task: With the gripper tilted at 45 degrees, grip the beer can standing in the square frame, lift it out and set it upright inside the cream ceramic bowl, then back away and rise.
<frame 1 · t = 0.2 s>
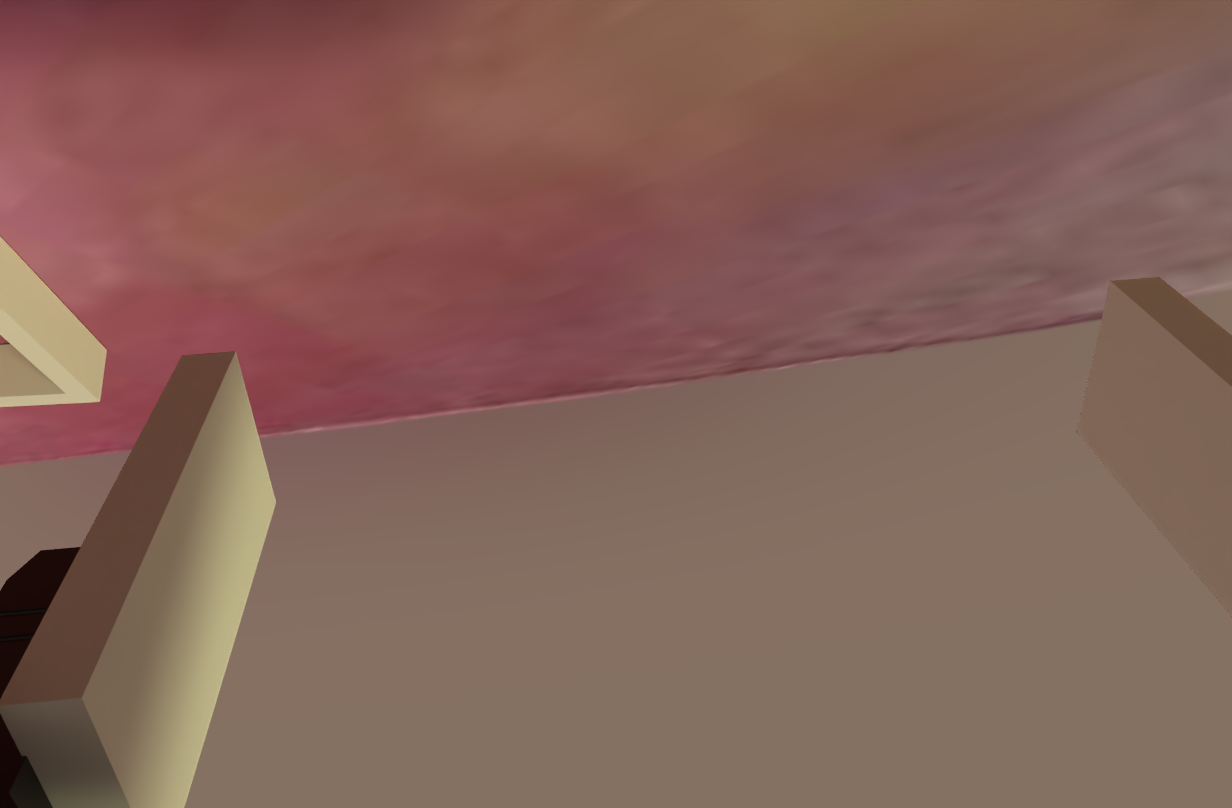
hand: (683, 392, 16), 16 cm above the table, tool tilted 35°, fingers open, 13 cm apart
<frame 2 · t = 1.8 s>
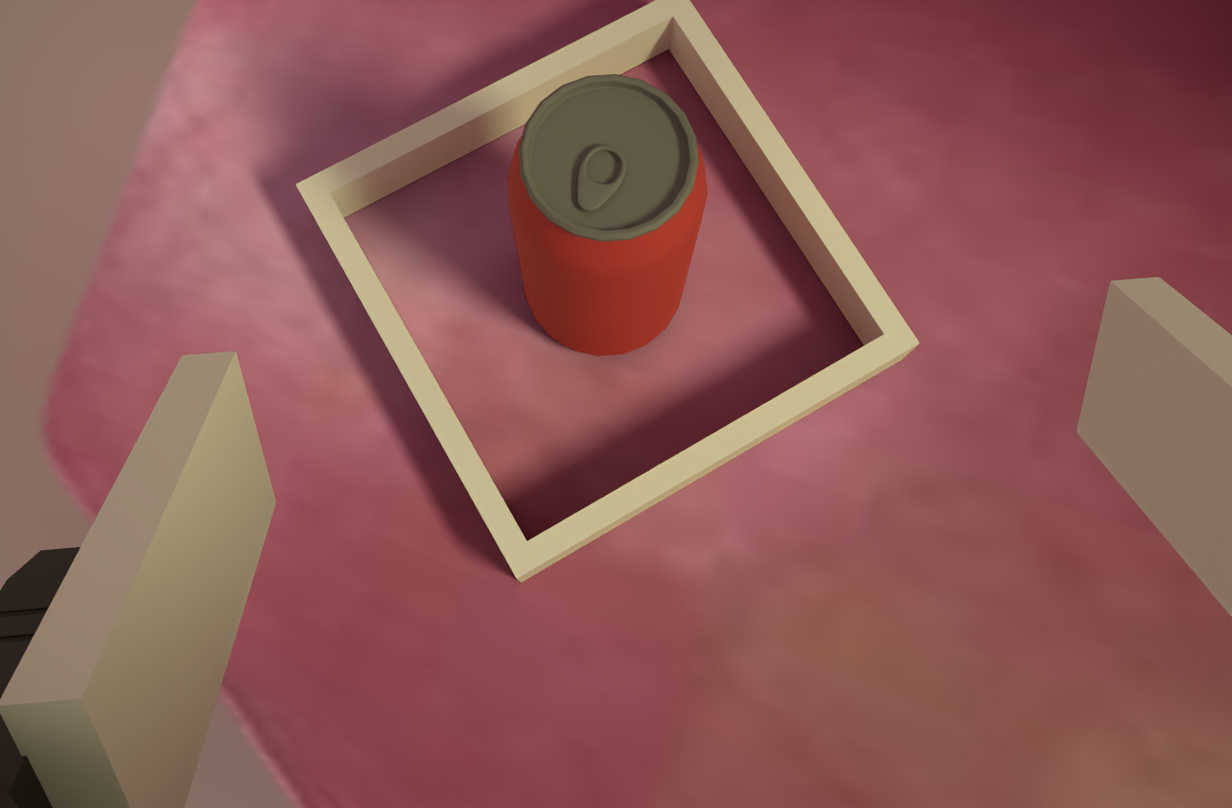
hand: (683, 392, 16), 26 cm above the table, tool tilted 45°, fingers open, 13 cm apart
beer can: (603, 285, 44), resting in square frame
square frame: (603, 284, 44), on the table
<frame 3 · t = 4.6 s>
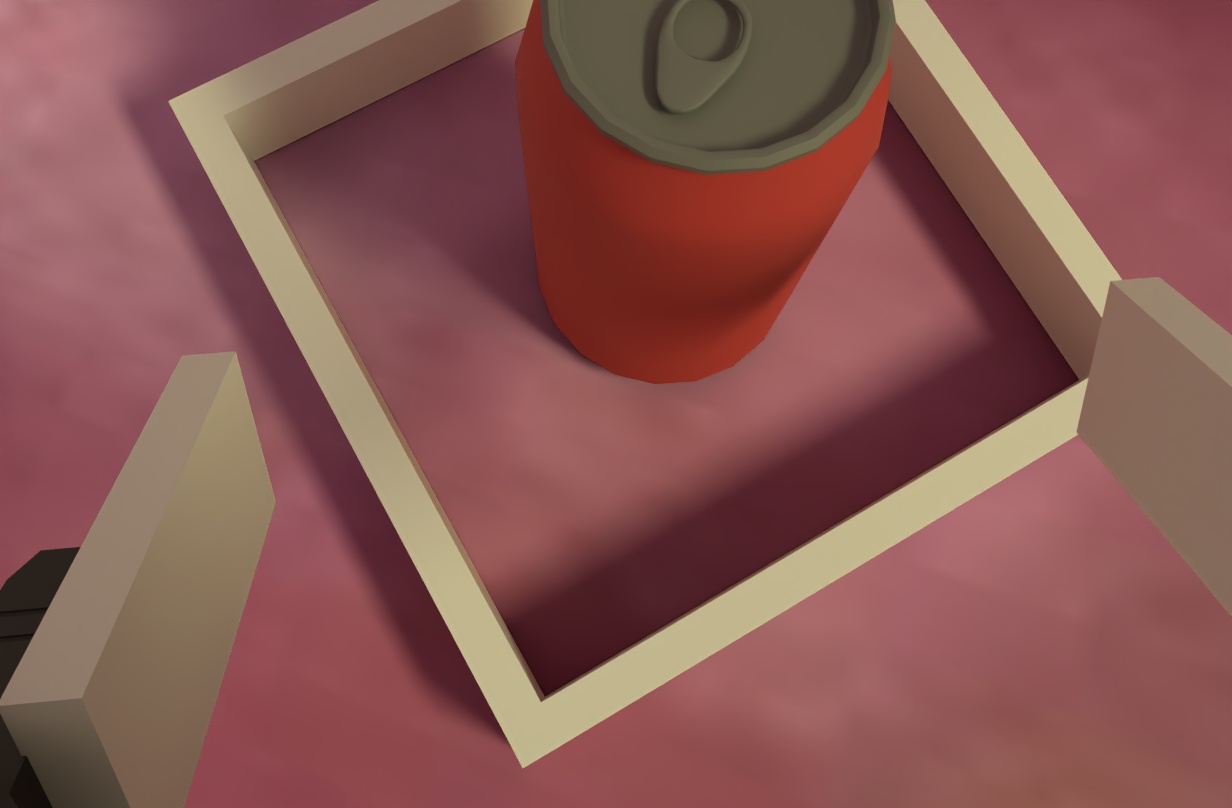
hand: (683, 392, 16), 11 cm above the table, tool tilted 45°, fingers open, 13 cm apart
beer can: (661, 272, 28), resting in square frame
square frame: (662, 269, 28), on the table
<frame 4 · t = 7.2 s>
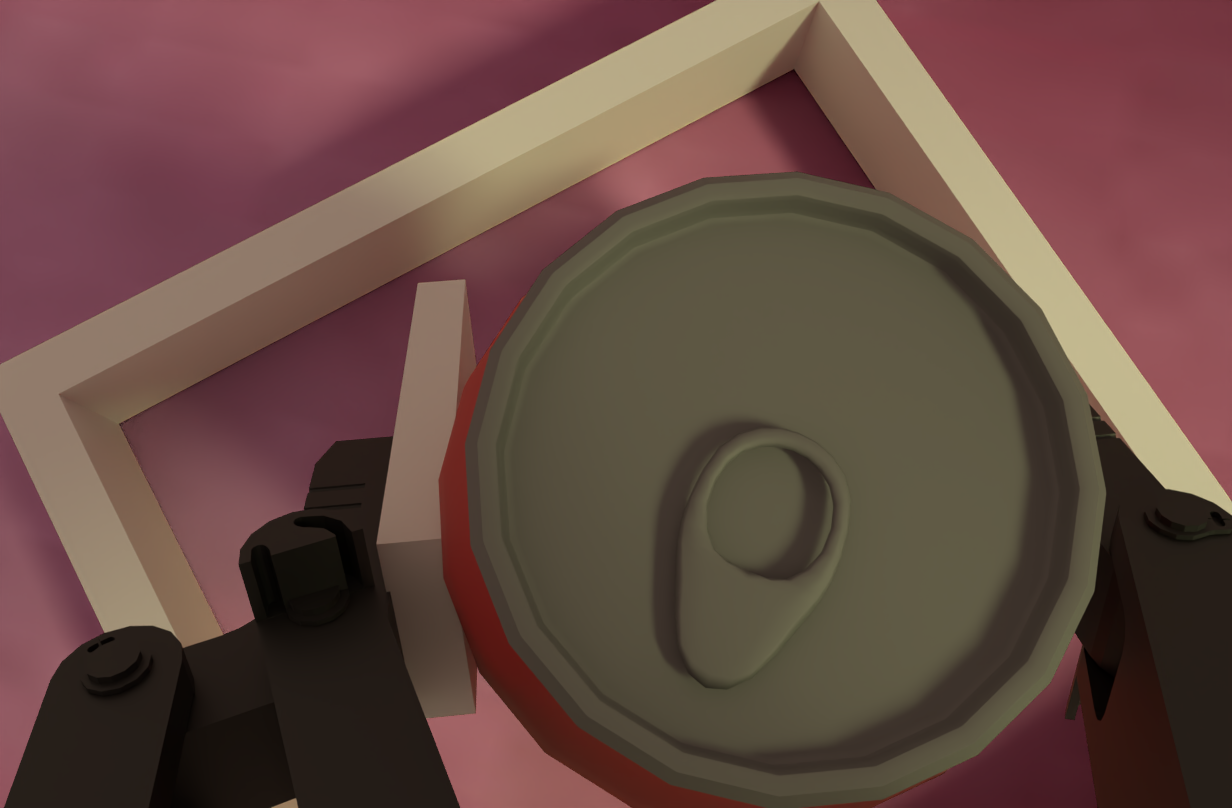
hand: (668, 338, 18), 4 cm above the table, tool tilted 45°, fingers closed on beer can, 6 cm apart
beer can: (670, 572, 21), resting in square frame, touching gripper
square frame: (670, 570, 21), on the table
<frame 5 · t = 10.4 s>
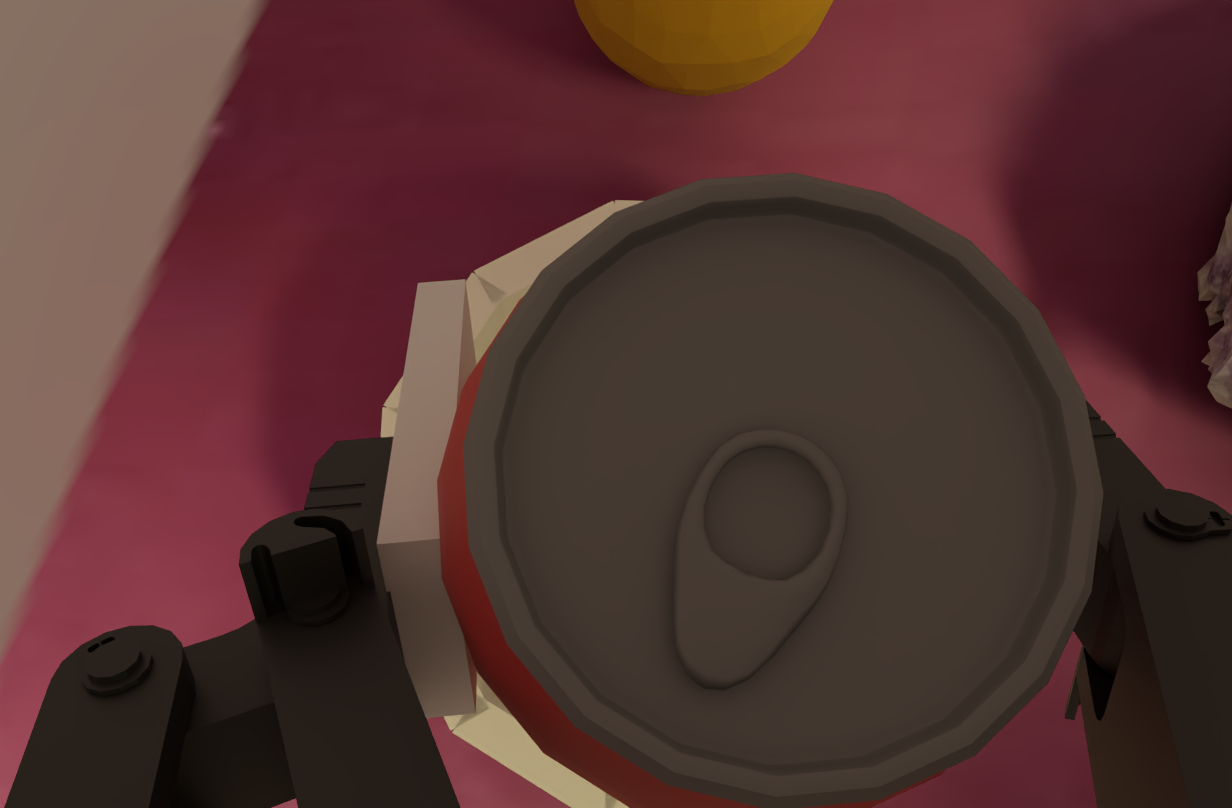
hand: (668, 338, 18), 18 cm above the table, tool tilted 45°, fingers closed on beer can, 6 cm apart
bowl: (677, 513, 35), on the table
beer can: (669, 573, 21), point 14 cm above the table, touching gripper
apple: (686, 41, 39), on the table
when the fingers open (6 cm above the table, at t = 13.9 s): beer can drops 1 cm, resting on bowl.
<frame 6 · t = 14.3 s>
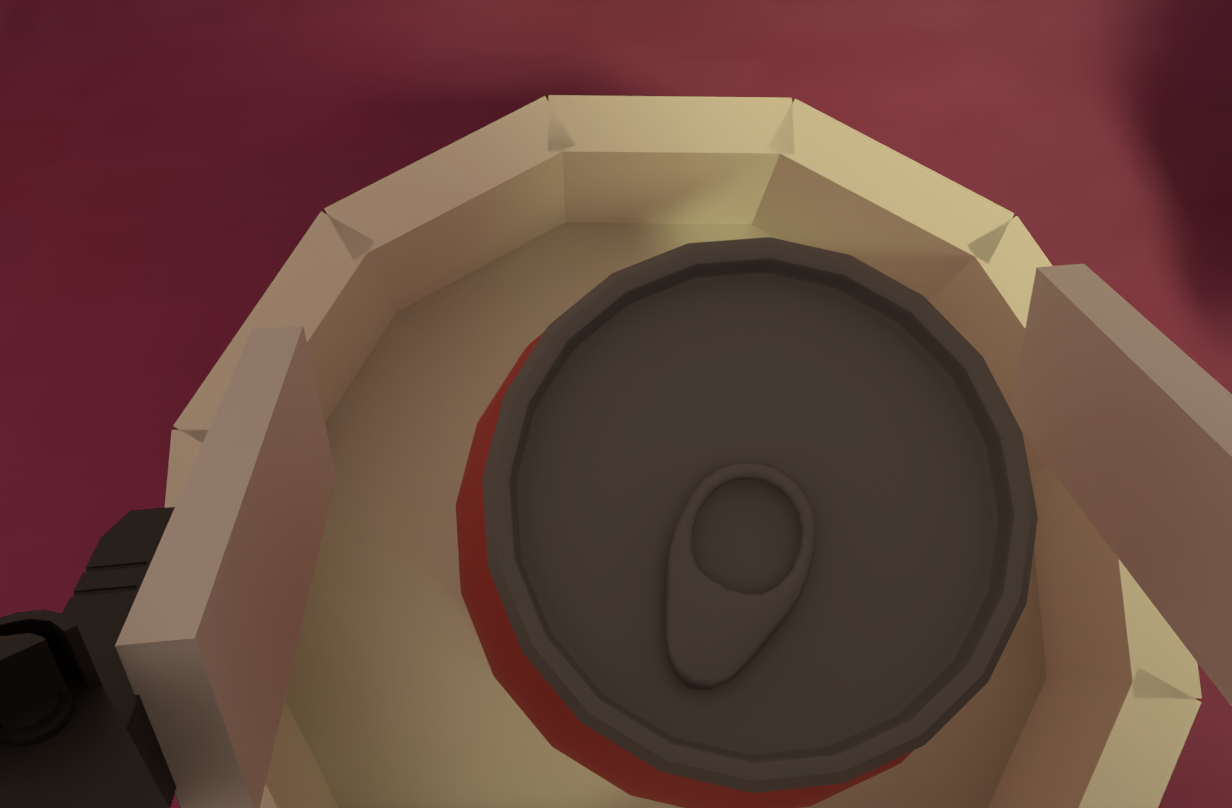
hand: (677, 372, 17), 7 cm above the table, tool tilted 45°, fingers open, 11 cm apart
bowl: (661, 579, 23), on the table
beer can: (664, 580, 22), point 1 cm above the table, touching bowl
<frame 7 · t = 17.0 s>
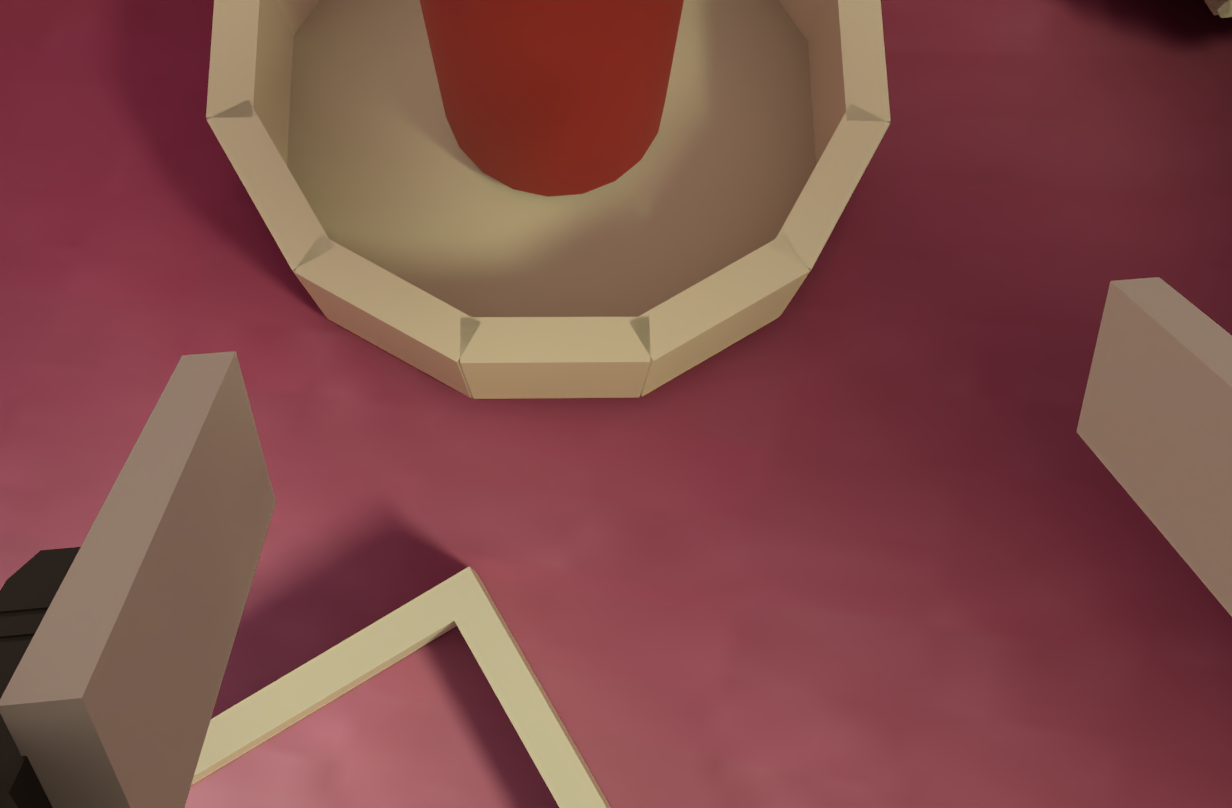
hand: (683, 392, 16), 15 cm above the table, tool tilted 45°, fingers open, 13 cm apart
bowl: (554, 118, 33), on the table
beer can: (555, 107, 32), point 1 cm above the table, touching bowl
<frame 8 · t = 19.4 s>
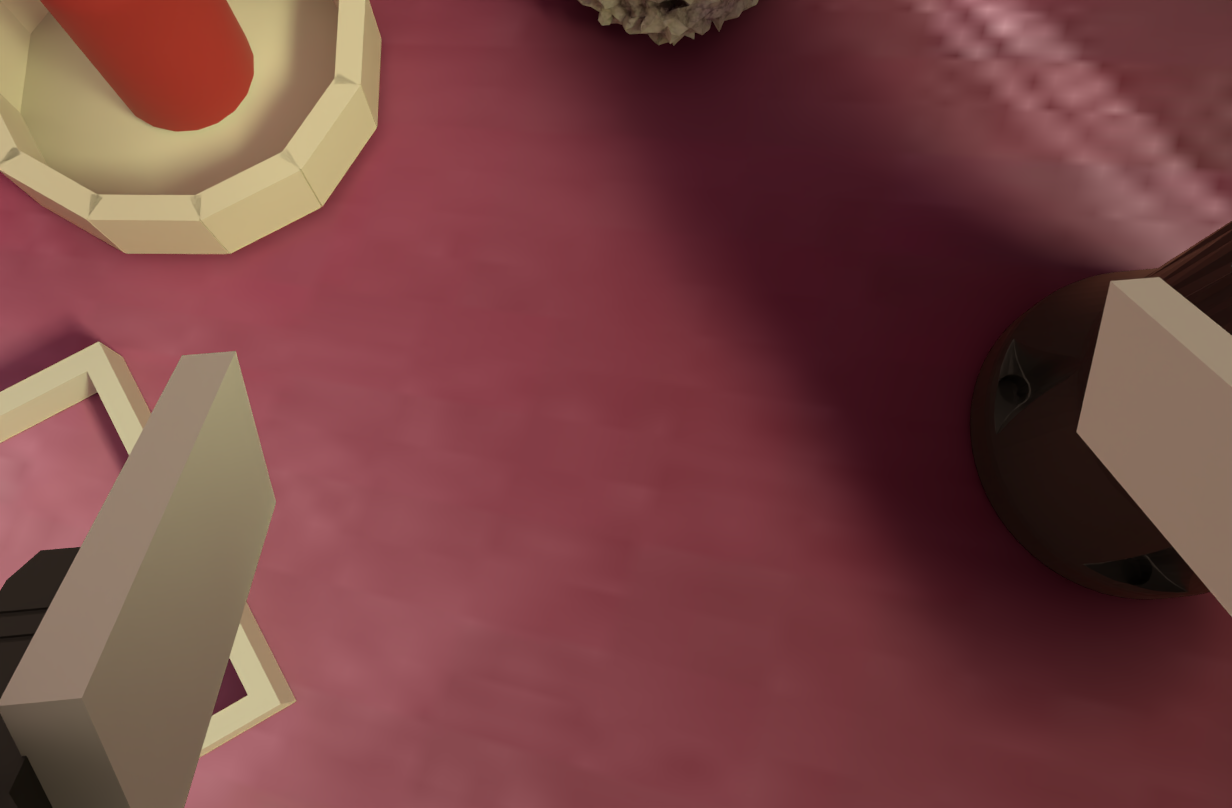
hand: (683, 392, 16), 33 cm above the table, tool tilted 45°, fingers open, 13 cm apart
bowl: (197, 85, 53), on the table
beer can: (191, 78, 52), point 1 cm above the table, touching bowl
square frame: (18, 625, 46), on the table
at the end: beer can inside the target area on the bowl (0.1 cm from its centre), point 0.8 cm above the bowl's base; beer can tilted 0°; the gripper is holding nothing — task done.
